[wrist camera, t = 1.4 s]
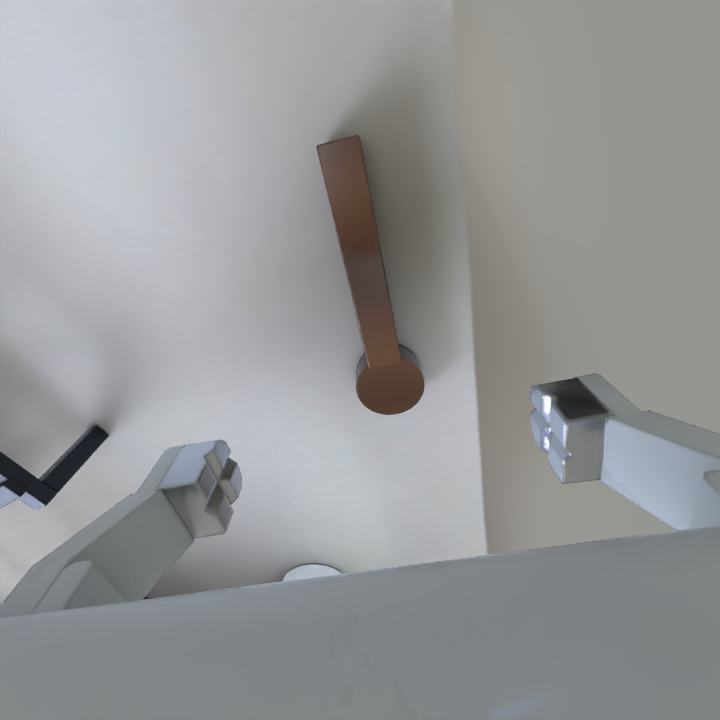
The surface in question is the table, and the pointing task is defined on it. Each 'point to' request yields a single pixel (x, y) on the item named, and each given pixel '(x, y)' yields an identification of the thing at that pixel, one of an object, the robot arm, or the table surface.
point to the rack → (46, 473)
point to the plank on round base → (368, 284)
